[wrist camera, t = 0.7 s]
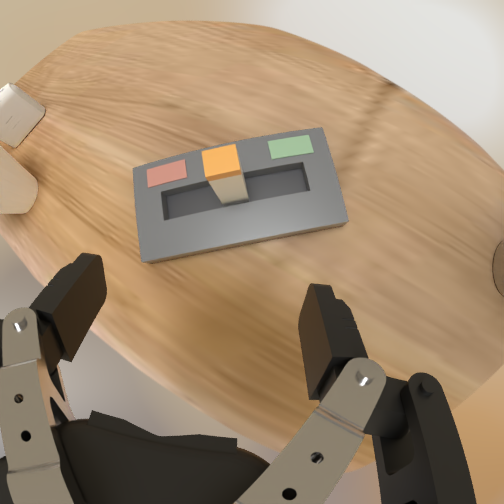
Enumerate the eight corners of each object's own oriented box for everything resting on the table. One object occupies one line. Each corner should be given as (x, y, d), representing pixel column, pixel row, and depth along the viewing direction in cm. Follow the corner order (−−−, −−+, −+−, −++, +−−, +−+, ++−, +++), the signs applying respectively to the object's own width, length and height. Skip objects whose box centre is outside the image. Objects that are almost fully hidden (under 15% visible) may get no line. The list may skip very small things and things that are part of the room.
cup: (11, 172, 39) (-33, 152, 27) (51, 154, 38) (4, 126, 26) (5, 233, 38) (-44, 222, 25) (45, 221, 37) (-10, 205, 25)
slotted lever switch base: (318, 138, 35) (322, 126, 32) (342, 226, 34) (349, 221, 31) (142, 175, 36) (132, 167, 33) (151, 263, 35) (141, 262, 32)
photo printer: (14, 152, 39) (-27, 130, 27) (11, 140, 40) (-27, 117, 28) (48, 114, 40) (9, 84, 27) (43, 103, 40) (8, 74, 28)
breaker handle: (245, 181, 34) (235, 143, 24) (249, 201, 34) (240, 169, 24) (220, 186, 34) (201, 151, 24) (224, 206, 34) (205, 177, 24)
